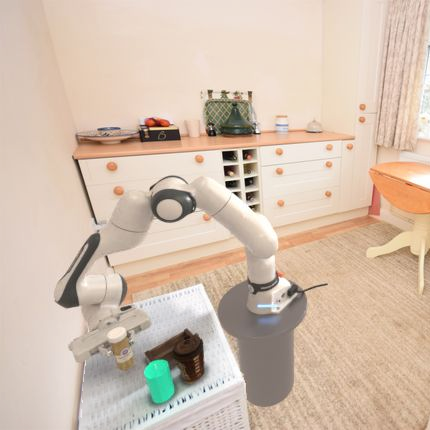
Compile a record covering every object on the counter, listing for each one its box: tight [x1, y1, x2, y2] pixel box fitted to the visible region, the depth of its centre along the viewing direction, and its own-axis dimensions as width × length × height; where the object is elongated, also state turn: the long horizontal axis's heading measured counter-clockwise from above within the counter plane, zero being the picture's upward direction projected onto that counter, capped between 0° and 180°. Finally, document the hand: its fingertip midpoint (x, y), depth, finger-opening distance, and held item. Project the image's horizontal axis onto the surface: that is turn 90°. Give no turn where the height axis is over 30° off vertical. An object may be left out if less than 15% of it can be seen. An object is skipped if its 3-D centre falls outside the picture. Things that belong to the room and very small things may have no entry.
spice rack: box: [143, 328, 200, 371], centre depth 95 cm, size 14×9×7 cm, turn 139°
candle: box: [143, 360, 176, 404], centre depth 82 cm, size 6×6×12 cm
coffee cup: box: [172, 334, 206, 385], centre depth 88 cm, size 9×8×13 cm
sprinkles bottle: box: [107, 327, 136, 372], centre depth 87 cm, size 5×5×13 cm
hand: (122, 348), depth 86 cm, fingers closed on sprinkles bottle, 4 cm apart
